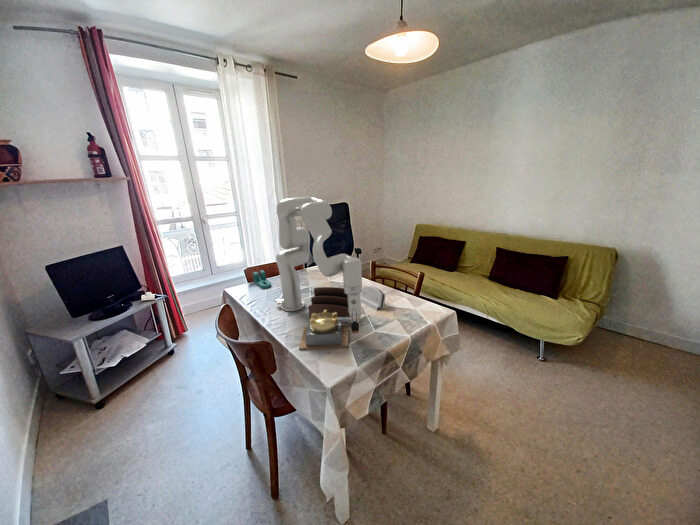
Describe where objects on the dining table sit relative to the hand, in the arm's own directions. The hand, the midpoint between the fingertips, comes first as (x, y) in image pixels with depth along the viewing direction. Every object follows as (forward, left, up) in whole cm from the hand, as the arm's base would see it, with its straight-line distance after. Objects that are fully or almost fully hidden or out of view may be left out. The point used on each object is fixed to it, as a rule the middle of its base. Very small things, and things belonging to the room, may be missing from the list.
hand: (355, 327), depth 118 cm
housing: (-13, 0, -5) cm, 14 cm away
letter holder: (-11, +20, -5) cm, 23 cm away
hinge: (+10, +32, -5) cm, 34 cm away
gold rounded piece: (-9, 0, -2) cm, 9 cm away
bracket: (-60, +67, -5) cm, 90 cm away
